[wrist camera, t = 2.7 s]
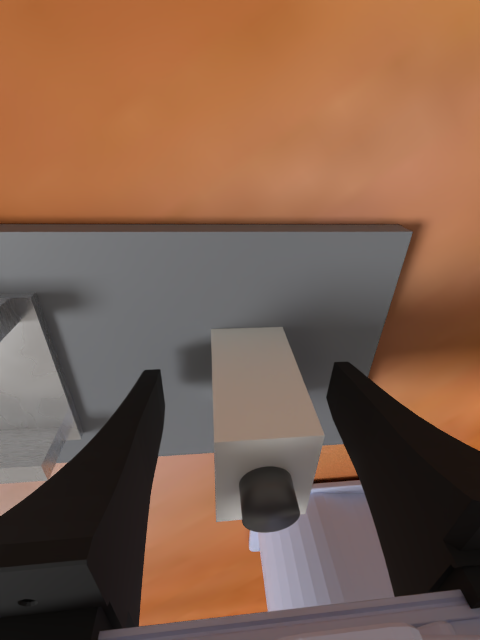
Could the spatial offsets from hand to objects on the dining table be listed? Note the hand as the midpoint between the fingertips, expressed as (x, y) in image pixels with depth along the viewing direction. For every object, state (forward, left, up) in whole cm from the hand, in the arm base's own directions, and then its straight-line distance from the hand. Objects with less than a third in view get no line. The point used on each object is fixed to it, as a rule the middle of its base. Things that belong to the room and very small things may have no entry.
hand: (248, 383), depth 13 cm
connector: (0, 0, -1) cm, 1 cm away
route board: (+5, 0, -2) cm, 5 cm away
